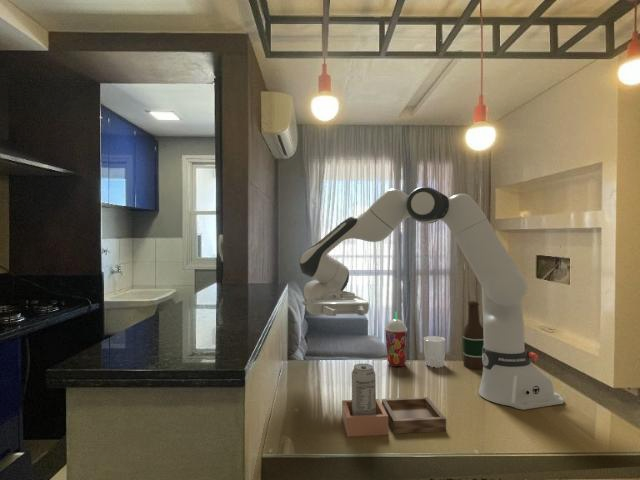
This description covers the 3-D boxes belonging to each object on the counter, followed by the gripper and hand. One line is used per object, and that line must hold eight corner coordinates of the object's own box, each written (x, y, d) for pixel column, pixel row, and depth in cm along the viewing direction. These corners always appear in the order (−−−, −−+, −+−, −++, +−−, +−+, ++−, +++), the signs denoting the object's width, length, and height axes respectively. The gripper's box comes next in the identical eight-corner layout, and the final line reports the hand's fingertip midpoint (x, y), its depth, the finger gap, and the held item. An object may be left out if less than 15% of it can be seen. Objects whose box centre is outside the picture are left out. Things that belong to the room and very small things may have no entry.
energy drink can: (374, 419, 99) (373, 362, 99) (378, 431, 93) (377, 370, 93) (351, 420, 98) (350, 363, 99) (353, 432, 92) (352, 370, 93)
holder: (379, 415, 101) (378, 399, 101) (388, 434, 91) (388, 416, 91) (342, 417, 100) (341, 400, 100) (347, 436, 90) (347, 417, 90)
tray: (427, 407, 105) (427, 397, 105) (446, 430, 92) (445, 418, 92) (381, 409, 104) (381, 399, 104) (394, 433, 91) (393, 421, 91)
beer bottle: (458, 364, 142) (457, 301, 142) (474, 361, 145) (473, 299, 145) (474, 371, 134) (473, 304, 135) (490, 368, 138) (489, 302, 138)
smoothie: (411, 363, 144) (410, 311, 144) (403, 369, 137) (402, 314, 137) (390, 360, 149) (389, 309, 149) (382, 365, 141) (381, 312, 142)
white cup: (447, 369, 137) (446, 341, 137) (424, 368, 139) (424, 340, 139) (444, 362, 145) (443, 336, 145) (423, 361, 146) (422, 335, 146)
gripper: (301, 291, 120) (317, 302, 107) (357, 292, 128) (378, 302, 115) (299, 311, 120) (315, 324, 107) (355, 310, 128) (376, 322, 116)
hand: (348, 313), depth 111 cm, fingers open, 8 cm apart
